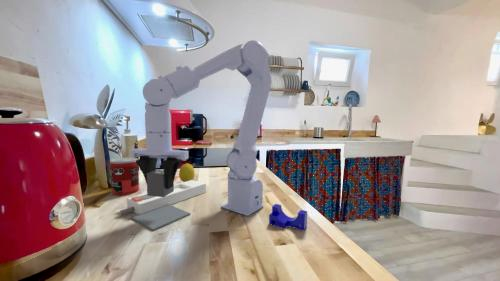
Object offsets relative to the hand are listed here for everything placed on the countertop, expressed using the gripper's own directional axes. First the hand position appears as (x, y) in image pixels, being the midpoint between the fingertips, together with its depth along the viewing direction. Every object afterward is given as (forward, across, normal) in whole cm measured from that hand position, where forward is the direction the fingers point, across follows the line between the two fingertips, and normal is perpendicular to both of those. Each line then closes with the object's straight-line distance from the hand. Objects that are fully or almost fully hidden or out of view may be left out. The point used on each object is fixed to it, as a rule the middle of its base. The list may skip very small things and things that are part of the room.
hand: (160, 186), depth 53 cm
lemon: (+8, +7, -26) cm, 28 cm away
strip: (+8, +5, -9) cm, 13 cm away
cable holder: (+8, -31, -2) cm, 33 cm away
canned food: (+8, +22, -14) cm, 27 cm away
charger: (+2, 0, 0) cm, 2 cm away
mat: (+8, 0, 0) cm, 8 cm away
